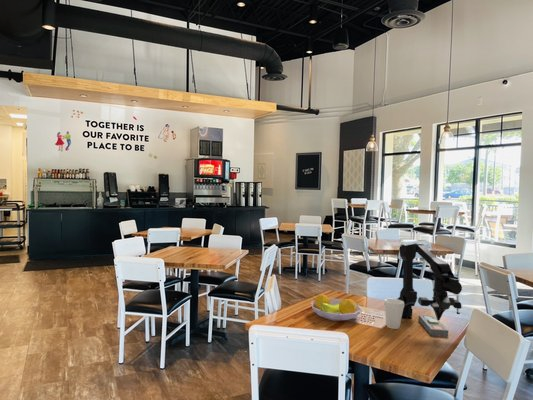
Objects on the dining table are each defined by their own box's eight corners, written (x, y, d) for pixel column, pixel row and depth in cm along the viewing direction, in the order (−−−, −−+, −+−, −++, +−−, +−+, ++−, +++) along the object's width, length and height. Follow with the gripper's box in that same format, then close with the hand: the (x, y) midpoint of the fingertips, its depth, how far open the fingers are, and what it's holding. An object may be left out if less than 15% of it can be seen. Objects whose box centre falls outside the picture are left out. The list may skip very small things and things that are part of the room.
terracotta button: (434, 332, 184) (434, 328, 184) (431, 329, 188) (432, 325, 188) (443, 333, 184) (443, 329, 184) (440, 329, 188) (440, 326, 188)
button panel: (430, 335, 183) (431, 329, 183) (418, 320, 203) (418, 315, 203) (448, 336, 182) (448, 330, 182) (434, 321, 202) (434, 316, 202)
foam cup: (402, 324, 196) (404, 300, 195) (402, 331, 187) (404, 305, 186) (383, 322, 199) (384, 297, 198) (382, 328, 190) (384, 302, 189)
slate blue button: (425, 322, 198) (425, 318, 198) (423, 319, 202) (423, 316, 202) (433, 322, 198) (433, 319, 197) (430, 319, 202) (431, 316, 201)
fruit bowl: (335, 305, 223) (336, 286, 222) (371, 320, 200) (372, 299, 200) (297, 313, 207) (298, 292, 207) (332, 330, 185) (333, 307, 184)
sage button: (429, 325, 191) (430, 321, 191) (427, 322, 195) (427, 318, 195) (438, 325, 191) (438, 322, 190) (435, 322, 195) (435, 319, 194)
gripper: (425, 291, 178) (423, 324, 178) (467, 294, 176) (465, 327, 177) (418, 285, 189) (416, 316, 190) (457, 288, 187) (455, 319, 188)
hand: (438, 320), depth 186 cm, fingers closed
